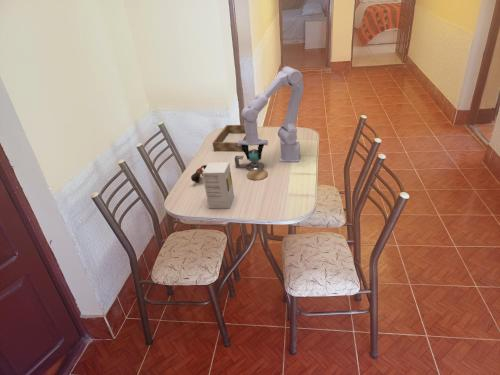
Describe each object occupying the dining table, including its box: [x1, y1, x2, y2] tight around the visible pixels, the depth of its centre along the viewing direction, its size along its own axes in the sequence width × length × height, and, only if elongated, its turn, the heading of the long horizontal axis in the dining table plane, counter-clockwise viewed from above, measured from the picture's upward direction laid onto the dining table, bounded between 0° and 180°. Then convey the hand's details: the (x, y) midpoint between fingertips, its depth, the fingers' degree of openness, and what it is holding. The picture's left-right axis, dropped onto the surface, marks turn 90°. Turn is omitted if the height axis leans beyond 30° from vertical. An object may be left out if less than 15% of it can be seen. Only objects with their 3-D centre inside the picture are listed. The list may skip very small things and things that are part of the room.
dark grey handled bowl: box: [234, 155, 265, 172], centre depth 174 cm, size 14×9×6 cm, turn 76°
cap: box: [248, 148, 260, 162], centre depth 174 cm, size 10×5×4 cm, turn 170°
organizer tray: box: [212, 124, 246, 153], centre depth 203 cm, size 17×26×5 cm, turn 166°
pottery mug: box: [190, 164, 207, 184], centre depth 167 cm, size 12×10×8 cm
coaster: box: [246, 168, 269, 182], centre depth 168 cm, size 10×10×1 cm
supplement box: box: [201, 161, 235, 209], centre depth 146 cm, size 10×9×17 cm
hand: (254, 158), depth 173 cm, fingers closed on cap, 5 cm apart
